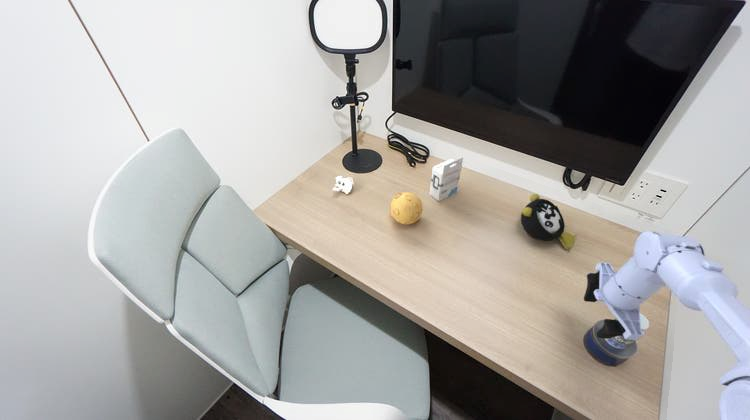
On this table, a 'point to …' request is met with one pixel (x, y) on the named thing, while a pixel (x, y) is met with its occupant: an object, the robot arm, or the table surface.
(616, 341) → the pill bottle
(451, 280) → the table surface
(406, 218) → the stress ball
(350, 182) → the anatomical pelvis
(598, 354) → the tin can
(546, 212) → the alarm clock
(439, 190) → the ink box
